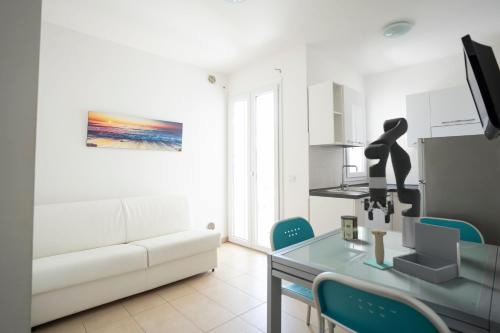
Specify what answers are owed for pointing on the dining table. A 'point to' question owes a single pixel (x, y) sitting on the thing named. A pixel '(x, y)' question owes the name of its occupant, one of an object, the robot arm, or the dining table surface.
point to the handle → (379, 245)
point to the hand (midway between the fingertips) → (378, 221)
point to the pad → (379, 266)
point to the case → (432, 254)
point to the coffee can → (349, 227)
